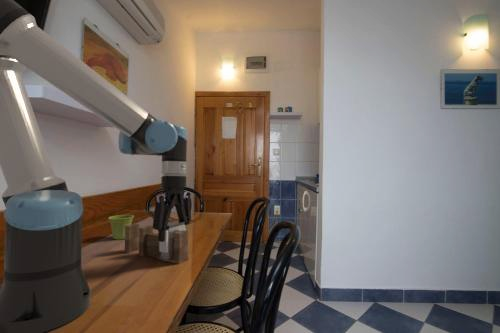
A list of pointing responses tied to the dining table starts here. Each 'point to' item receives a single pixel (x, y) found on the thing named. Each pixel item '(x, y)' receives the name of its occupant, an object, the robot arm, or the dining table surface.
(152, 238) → the brown long notched block
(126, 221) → the plant pot
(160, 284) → the dining table surface
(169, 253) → the bracket plate
